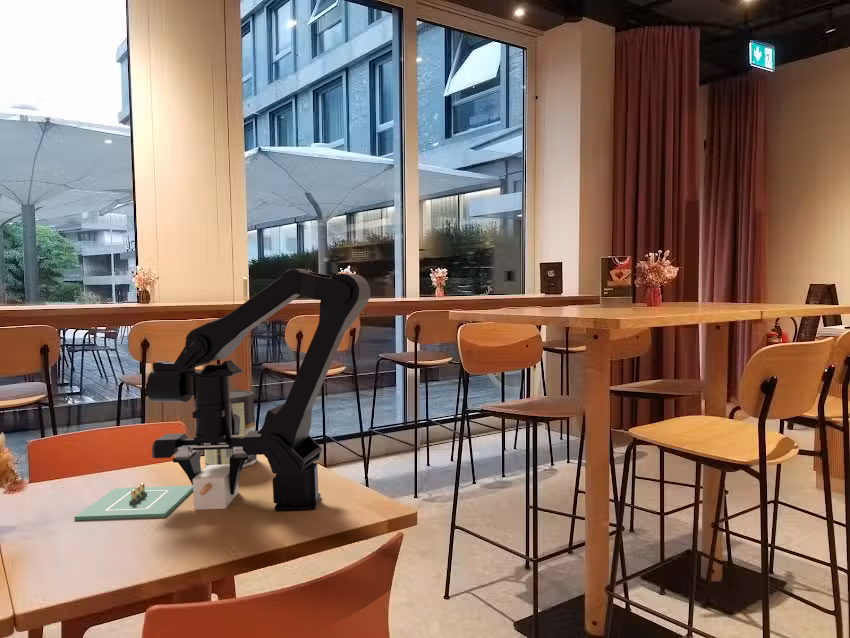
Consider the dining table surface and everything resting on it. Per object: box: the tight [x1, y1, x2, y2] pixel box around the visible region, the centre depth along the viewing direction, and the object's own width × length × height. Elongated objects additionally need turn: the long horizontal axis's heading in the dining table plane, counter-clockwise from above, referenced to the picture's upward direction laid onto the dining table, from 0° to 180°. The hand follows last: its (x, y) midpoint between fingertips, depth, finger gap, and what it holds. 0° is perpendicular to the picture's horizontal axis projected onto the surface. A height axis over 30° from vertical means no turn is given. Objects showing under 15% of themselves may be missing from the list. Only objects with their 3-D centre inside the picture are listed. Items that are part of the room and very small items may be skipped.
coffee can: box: [203, 389, 258, 469], centre depth 132 cm, size 10×10×14 cm
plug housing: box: [192, 464, 239, 511], centre depth 107 cm, size 5×12×5 cm, turn 1°
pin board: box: [73, 482, 193, 521], centre depth 109 cm, size 14×14×3 cm
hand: (216, 494), depth 109 cm, fingers closed on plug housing, 5 cm apart
